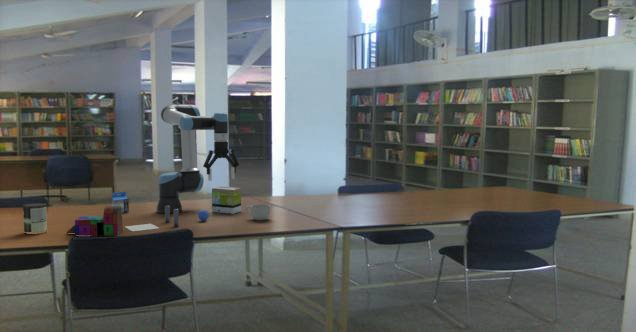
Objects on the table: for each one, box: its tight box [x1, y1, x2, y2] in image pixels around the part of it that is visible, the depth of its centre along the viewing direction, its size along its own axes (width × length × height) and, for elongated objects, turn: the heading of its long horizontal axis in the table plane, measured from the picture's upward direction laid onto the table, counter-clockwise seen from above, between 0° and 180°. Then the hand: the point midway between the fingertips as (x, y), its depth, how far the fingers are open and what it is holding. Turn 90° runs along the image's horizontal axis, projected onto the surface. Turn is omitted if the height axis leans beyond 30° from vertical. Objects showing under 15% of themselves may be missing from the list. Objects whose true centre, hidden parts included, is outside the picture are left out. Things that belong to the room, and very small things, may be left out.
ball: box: [197, 209, 210, 222], centre depth 304 cm, size 6×6×6 cm
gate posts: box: [164, 206, 180, 228], centre depth 294 cm, size 16×3×9 cm, turn 35°
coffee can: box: [22, 202, 48, 232], centre depth 272 cm, size 10×10×14 cm
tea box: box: [211, 186, 242, 215], centre depth 333 cm, size 15×10×15 cm
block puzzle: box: [66, 205, 124, 237], centre depth 272 cm, size 25×17×14 cm
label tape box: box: [111, 191, 130, 214], centre depth 328 cm, size 9×4×12 cm, turn 131°
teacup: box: [244, 203, 271, 222], centre depth 309 cm, size 14×11×8 cm
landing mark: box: [124, 223, 160, 232], centre depth 285 cm, size 14×14×1 cm
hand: (221, 179), depth 304 cm, fingers open, 13 cm apart
